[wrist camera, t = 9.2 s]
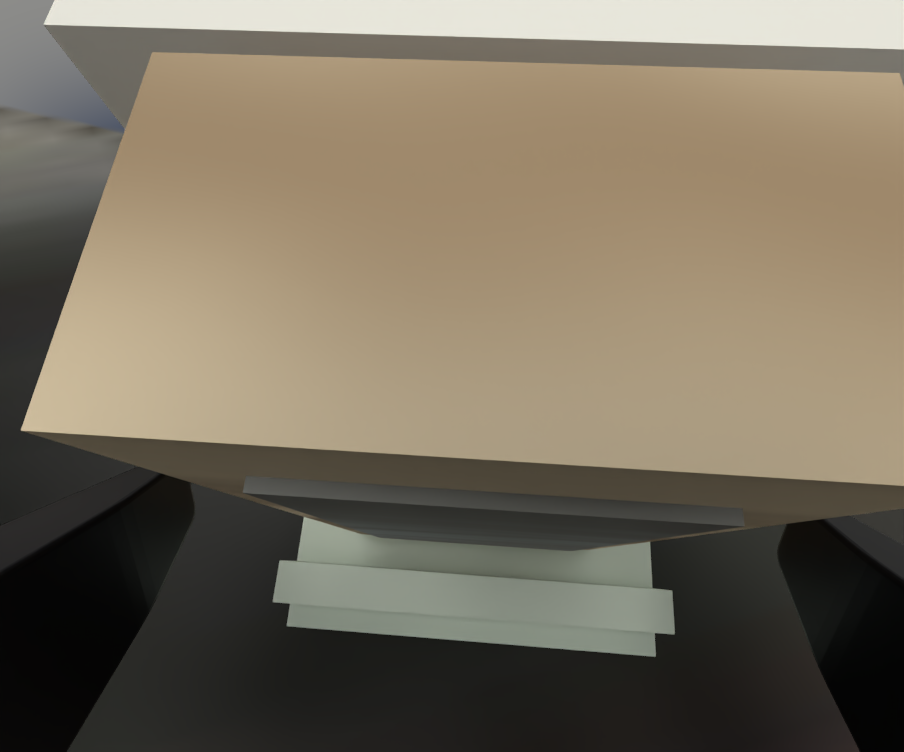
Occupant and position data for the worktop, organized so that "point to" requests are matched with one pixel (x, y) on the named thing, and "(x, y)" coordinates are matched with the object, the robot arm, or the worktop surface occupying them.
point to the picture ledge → (494, 40)
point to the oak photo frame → (498, 296)
